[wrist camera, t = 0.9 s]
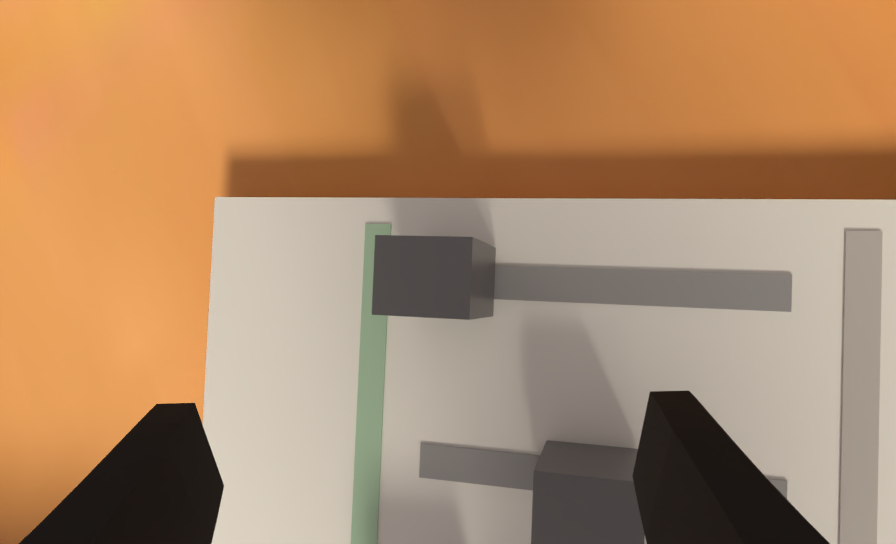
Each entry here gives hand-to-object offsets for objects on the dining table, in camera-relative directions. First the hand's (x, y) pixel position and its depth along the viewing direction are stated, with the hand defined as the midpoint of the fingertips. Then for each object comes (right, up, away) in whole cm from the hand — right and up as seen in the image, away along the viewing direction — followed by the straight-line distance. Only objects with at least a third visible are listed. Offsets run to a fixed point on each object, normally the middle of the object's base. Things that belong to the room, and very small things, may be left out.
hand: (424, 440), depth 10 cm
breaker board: (+5, -4, +13) cm, 15 cm away
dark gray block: (+5, -4, +11) cm, 13 cm away
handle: (+1, +2, +12) cm, 13 cm away
